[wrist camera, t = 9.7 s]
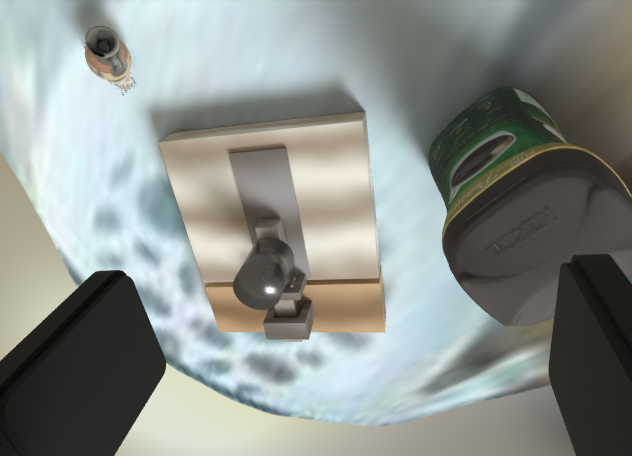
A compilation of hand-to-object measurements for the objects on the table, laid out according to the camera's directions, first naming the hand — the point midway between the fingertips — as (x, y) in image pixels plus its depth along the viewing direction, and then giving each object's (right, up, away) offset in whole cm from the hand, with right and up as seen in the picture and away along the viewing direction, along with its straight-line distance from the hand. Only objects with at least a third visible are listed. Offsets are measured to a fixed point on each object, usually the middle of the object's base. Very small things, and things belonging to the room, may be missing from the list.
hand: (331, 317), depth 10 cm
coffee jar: (+14, +9, +28) cm, 32 cm away
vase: (-17, +18, +29) cm, 38 cm away
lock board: (-3, +2, +35) cm, 35 cm away
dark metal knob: (-3, -3, +33) cm, 34 cm away
